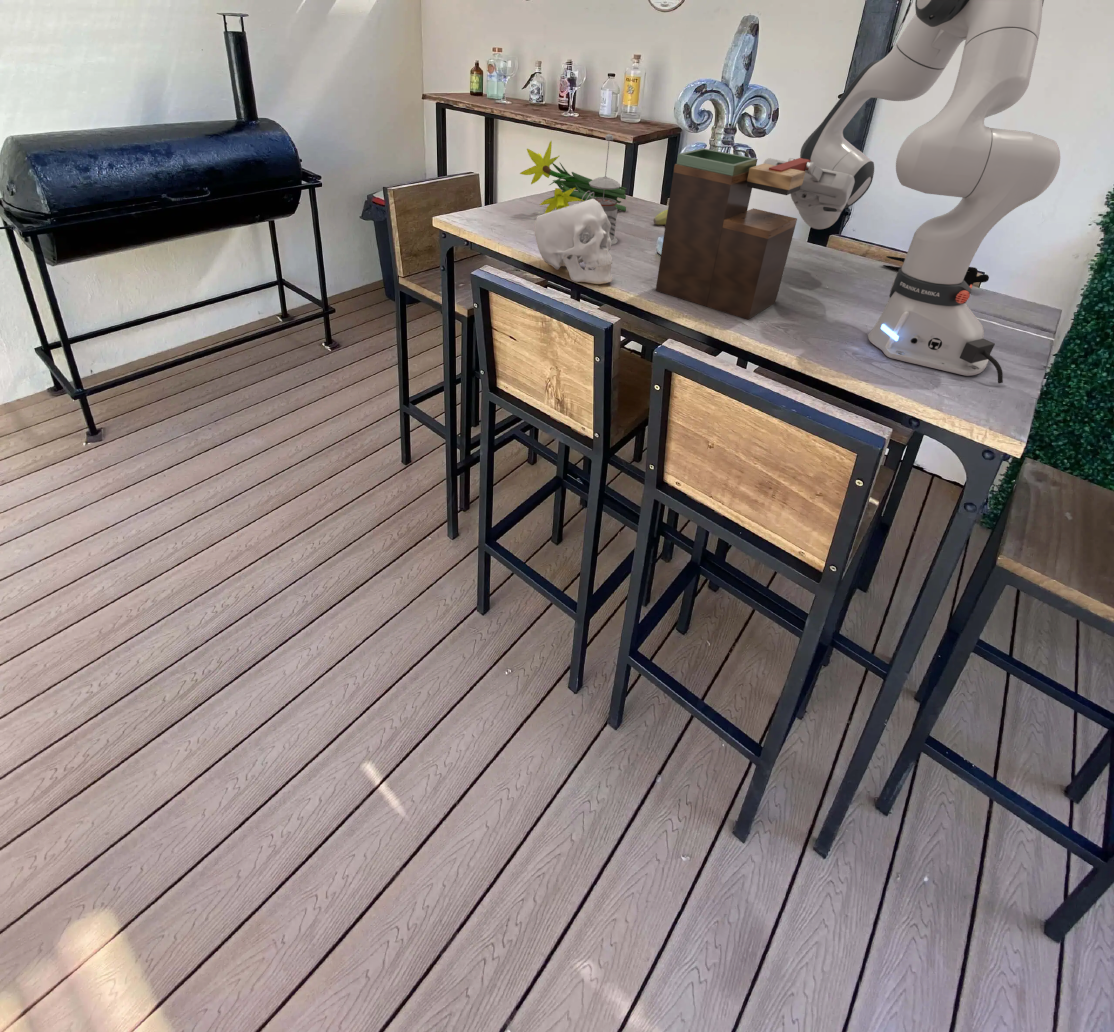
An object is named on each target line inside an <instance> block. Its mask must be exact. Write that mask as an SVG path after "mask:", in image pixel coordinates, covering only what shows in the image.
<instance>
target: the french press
mask: <svg viewBox="0 0 1114 1032" xmlns="http://www.w3.org/2000/svg"><path fill="white" fill-rule="evenodd" d="M605 140H606V141H608V143H607V155H606V163H605V175H604V176H598V177H596V178H593V179H592V181H590V182H589V185H590V186H591V187H593V188H597V189H604V191H605V189H607V190H610V189H618V188H620V187H622V186H621V184H620V182H618V181H617V180H615V179H613V178H612V177H608V176H607V169H608V159H609V149H610V141H613V140H614V136H613V134H610V133H608V134H606V135H605ZM587 192H590V191H587ZM587 192H586V193H587ZM586 193H585V194H586ZM592 193H594V192H592ZM592 193H591V192H590V194H589V195H588V197H589V196H590V197H592V196H591V194H592ZM585 194H584V195H583V197H584V196H585ZM583 197H582V200H583ZM588 197H587V199H588ZM593 197H594V194H593ZM593 197H592V198H591V199H595V200H596V201H598V202H599V203H600V204H601V206H602V208H603V210H604V212H605V213H606V215H607V217H608V220H609V222H610V224H611V228H610V232H609V235H610V239H611V246H614V245H616V244H617V243H618V239H617V237H616V236H615V234H616V227H617V226H616V224H617V218H618V217H617V216H618V210H617V207H615V206H613V205H616V204H618V203H617V201H616V200H613V199H608V198H604V193H603V197H600V198H599V197H595V198H593ZM587 199H586V200H585V201H587ZM582 200H581V201H580V202H582Z"/></svg>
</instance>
